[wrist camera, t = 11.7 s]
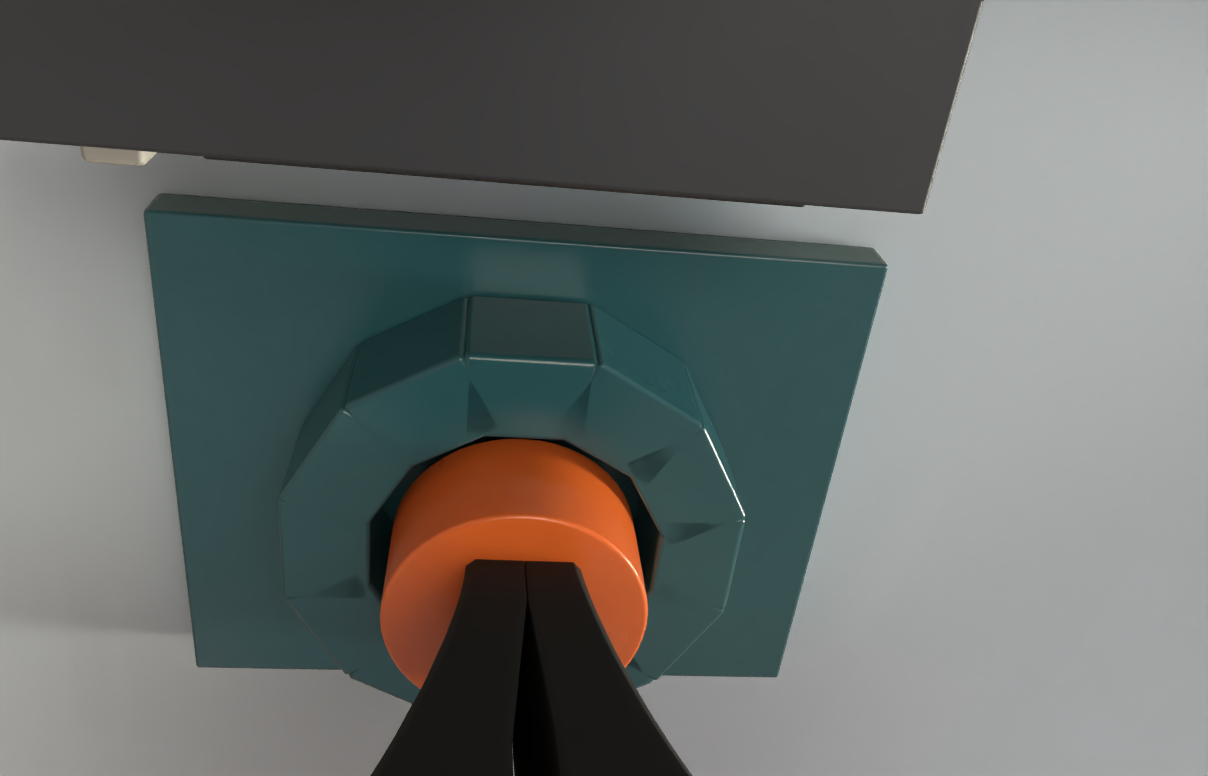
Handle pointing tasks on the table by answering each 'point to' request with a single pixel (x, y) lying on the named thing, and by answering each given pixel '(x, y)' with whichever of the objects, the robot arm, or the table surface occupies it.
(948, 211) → the table surface
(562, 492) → the button
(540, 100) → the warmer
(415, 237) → the control pad
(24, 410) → the table surface
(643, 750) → the robot arm
